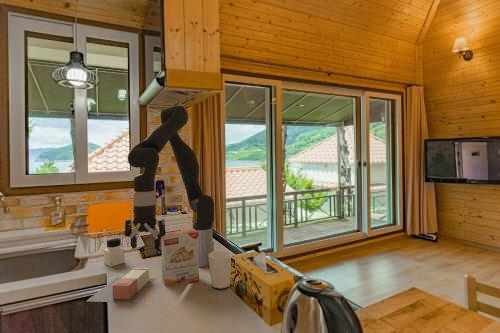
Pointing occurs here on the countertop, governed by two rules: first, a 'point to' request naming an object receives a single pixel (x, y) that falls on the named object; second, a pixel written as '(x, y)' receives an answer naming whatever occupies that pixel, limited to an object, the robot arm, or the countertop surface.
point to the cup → (220, 268)
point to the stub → (124, 288)
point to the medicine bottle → (114, 252)
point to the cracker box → (180, 257)
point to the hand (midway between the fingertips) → (145, 248)
